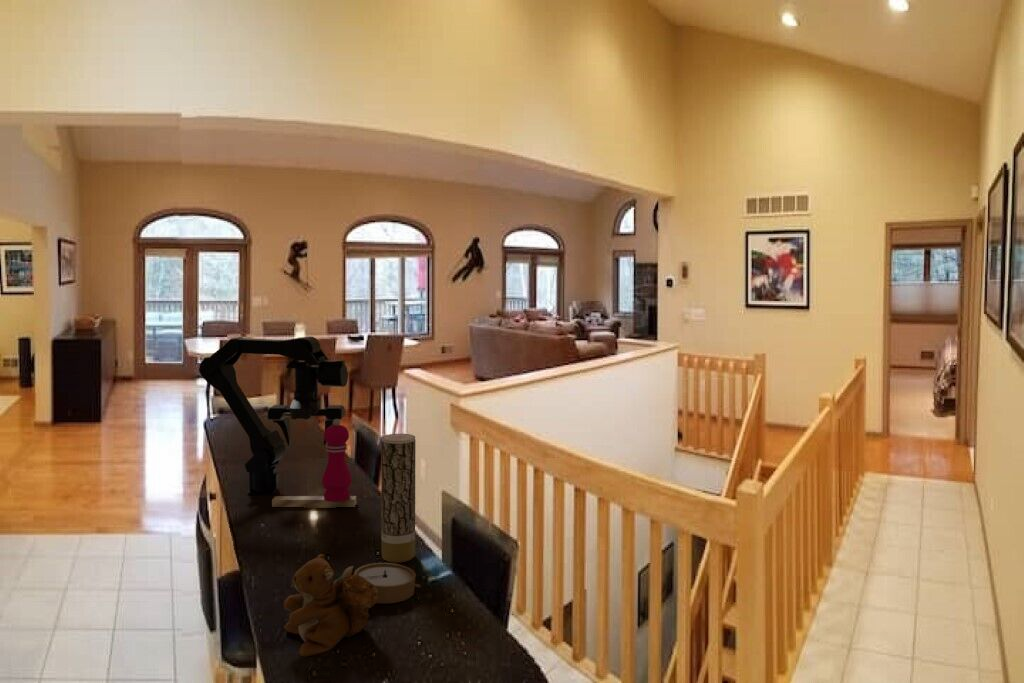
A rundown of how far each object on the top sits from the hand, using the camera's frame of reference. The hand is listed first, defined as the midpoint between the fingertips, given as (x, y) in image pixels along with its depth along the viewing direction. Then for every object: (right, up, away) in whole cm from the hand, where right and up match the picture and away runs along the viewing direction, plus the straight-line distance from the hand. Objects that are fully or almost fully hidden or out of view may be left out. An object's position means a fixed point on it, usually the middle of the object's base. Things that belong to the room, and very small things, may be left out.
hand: (307, 444), depth 186 cm
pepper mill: (+10, -12, -8) cm, 18 cm away
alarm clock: (+28, -19, -56) cm, 66 cm away
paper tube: (+30, -17, -40) cm, 53 cm away
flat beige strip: (+4, -14, -8) cm, 17 cm away
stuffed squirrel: (+24, -20, -72) cm, 79 cm away
